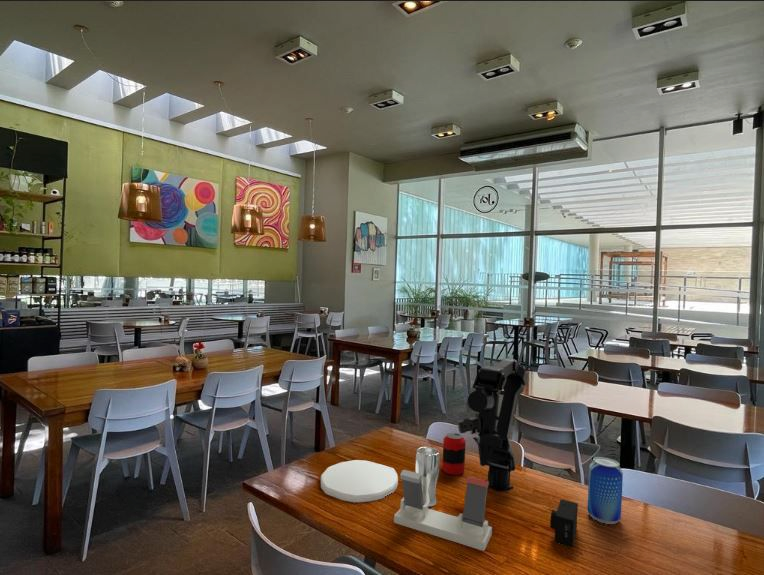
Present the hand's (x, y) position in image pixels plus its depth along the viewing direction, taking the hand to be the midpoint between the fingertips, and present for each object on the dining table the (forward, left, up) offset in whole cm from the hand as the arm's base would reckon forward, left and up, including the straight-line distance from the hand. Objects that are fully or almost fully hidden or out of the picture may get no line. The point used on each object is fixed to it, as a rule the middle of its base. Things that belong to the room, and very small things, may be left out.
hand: (482, 465), depth 125 cm
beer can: (-29, +19, -12) cm, 36 cm away
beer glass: (+13, -8, -12) cm, 20 cm away
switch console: (+17, +5, -12) cm, 21 cm away
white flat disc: (+26, -27, -13) cm, 40 cm away
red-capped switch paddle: (+12, +11, -8) cm, 19 cm away
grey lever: (+22, -1, -8) cm, 23 cm away
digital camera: (-11, +20, -12) cm, 26 cm away
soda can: (-8, -24, -12) cm, 28 cm away
